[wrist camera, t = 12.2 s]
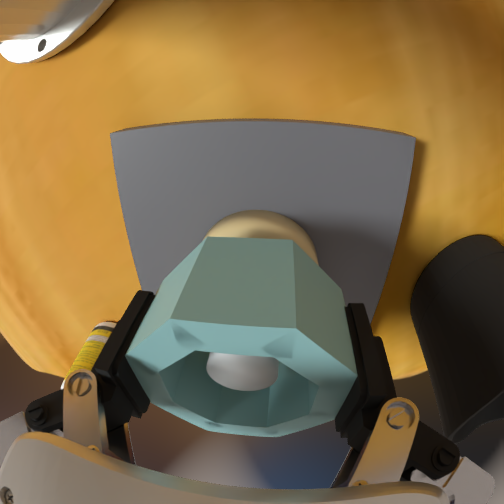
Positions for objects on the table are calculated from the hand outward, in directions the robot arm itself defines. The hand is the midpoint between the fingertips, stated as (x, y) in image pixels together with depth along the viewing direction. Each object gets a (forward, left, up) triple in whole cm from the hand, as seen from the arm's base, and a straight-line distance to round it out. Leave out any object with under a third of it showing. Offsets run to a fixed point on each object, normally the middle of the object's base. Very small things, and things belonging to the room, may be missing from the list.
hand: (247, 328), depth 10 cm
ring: (0, 0, -1) cm, 1 cm away
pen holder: (+2, +14, -6) cm, 16 cm away
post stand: (0, 0, -6) cm, 6 cm away
